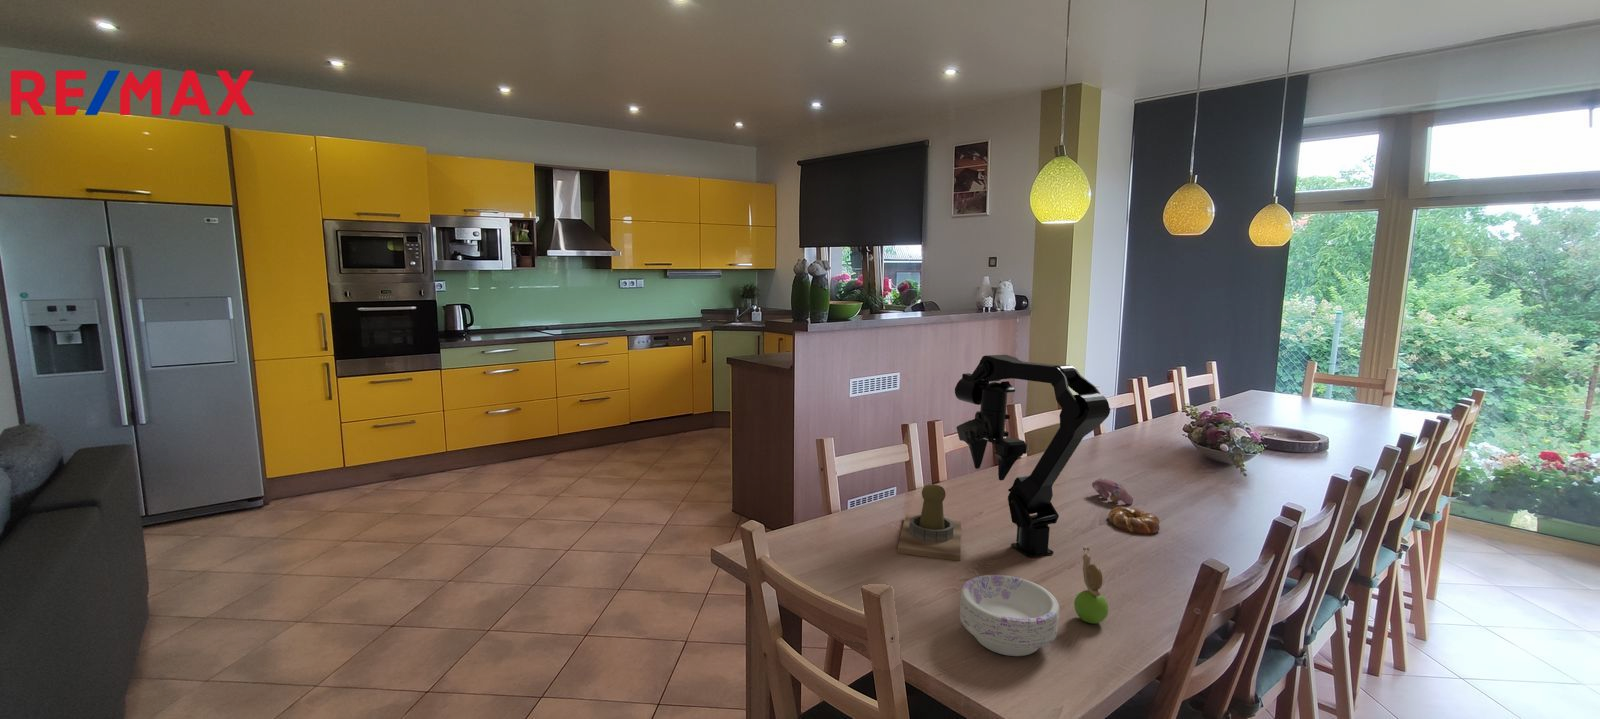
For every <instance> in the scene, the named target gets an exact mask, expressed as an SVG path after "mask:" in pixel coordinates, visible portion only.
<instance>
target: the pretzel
mask: <svg viewBox="0 0 1600 719" xmlns="http://www.w3.org/2000/svg"><path fill="white" fill-rule="evenodd" d="M1107 518H1108V520H1109V523H1110V524H1111V525H1112V526H1114V527H1117V528H1118V529H1119V530H1121V531H1124V532H1125V531H1126V532H1131V533H1135V534H1144V535H1147V534H1148V535H1149V534H1150V535H1151V534H1156V533H1158V532H1159V531H1160V529H1161V528H1160V524H1161V523H1160V519H1159V517H1158V516H1157V515H1155V514H1153V513H1151V512H1146V513H1145V511H1144V510H1142V509H1140V508H1136V507H1129V506H1116V507H1114V508H1112V509H1111V510H1110V511H1109V512H1108V516H1107Z"/></svg>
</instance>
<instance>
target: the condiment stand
mask: <svg viewBox="0 0 1600 719" xmlns="http://www.w3.org/2000/svg"><path fill="white" fill-rule="evenodd" d="M920 518H921V514H919V515H913V514H905V516H904V519H903V520H904V522H903V525H902V529H901V533H900V537H899V541H898V544H897V553H898V554H905V555H914V556H920V557H927V558H928V557H929V558H935V559H943V560H952V561H959V562H961V553H962V552H961V550H962V549H961V548H962V546H961V543H962V541H961V540H962V520H958V519H950V518H946V517H944V527H945V529H940V530H932V529H925V528H922V527H919V523H920Z"/></svg>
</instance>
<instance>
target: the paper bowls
mask: <svg viewBox="0 0 1600 719" xmlns="http://www.w3.org/2000/svg"><path fill="white" fill-rule="evenodd" d="M960 590H961V591H960V605H959V606H960V608H959V610H960V611H959V620H960V622H961V623H962V626H963V627H964V628H965V630H967V631H968V632H969V633H970V634H971V635H972V636H974V638H975V639H976V640H977V642H978V643H979V644H980V645H982V646H983V647H985V648H986V649H988V650H990V651H992V652H994V653H997V654H999V655H1003V656H1010V657H1023V656H1028V655H1032V654H1034V653H1035V652H1037V651H1038V649H1040V648H1043V647H1045V646H1047V645H1049V644H1051V643H1052V642H1053V641H1054V640H1055V639H1056V638H1057V634H1058V625H1059V615H1060V604H1059V602H1058V600H1057V598H1056V597H1055V596H1054V595H1053V594H1052V593H1051V592H1050V591H1049V590H1047V589H1046V588H1045V587H1043V586H1041V585H1039V584H1037V583H1035V582H1033V581H1030V580H1028V579H1025V578H1020V577H1018V576H1017V577H1016V576H1012V575H1006V574H1005V575H1004V574H985V575H979V576H976V577H972V578H970V579H968V580H967V581H966V582H964V584H963V585H962V587H961V589H960Z"/></svg>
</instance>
